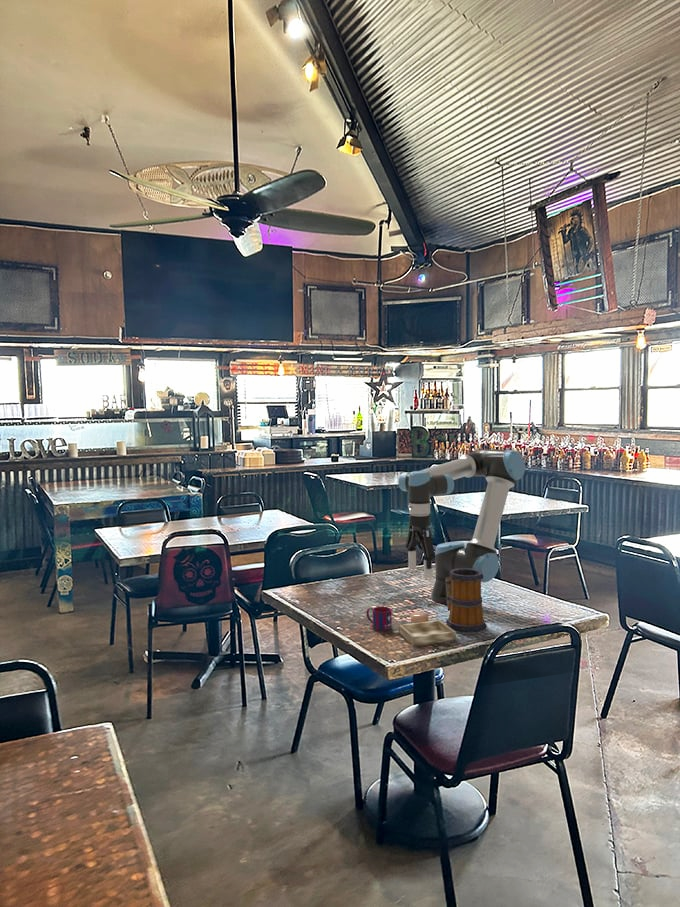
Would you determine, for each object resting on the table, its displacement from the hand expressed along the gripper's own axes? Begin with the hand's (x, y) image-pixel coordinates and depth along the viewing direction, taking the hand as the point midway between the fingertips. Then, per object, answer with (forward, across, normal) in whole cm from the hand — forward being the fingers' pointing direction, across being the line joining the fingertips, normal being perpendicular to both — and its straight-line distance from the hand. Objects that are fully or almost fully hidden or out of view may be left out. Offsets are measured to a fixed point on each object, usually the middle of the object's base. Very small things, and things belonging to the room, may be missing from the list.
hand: (419, 573), depth 228 cm
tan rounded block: (+19, 0, 0) cm, 19 cm away
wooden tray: (+19, +13, -3) cm, 23 cm away
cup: (+19, -2, -15) cm, 24 cm away
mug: (+19, +6, +14) cm, 24 cm away
